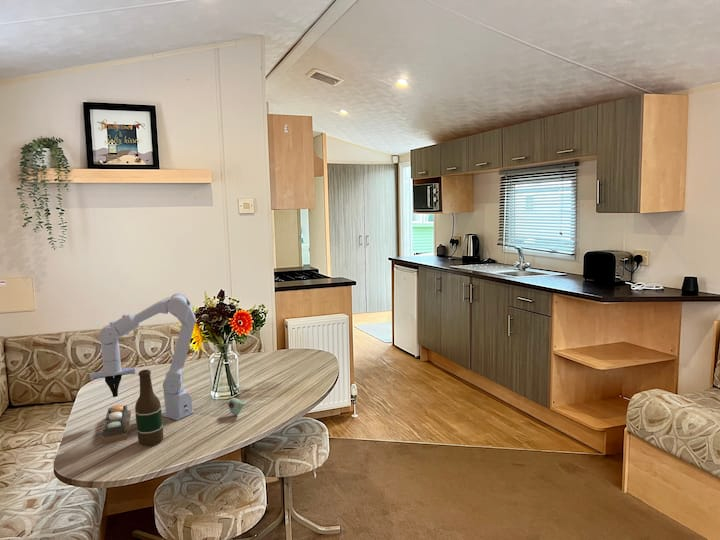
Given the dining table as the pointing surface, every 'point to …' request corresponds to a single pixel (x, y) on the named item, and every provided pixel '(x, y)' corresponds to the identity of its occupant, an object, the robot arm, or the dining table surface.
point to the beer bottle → (148, 413)
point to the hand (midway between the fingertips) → (115, 395)
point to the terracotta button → (117, 408)
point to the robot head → (235, 405)
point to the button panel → (118, 431)
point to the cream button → (115, 416)
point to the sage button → (113, 424)
